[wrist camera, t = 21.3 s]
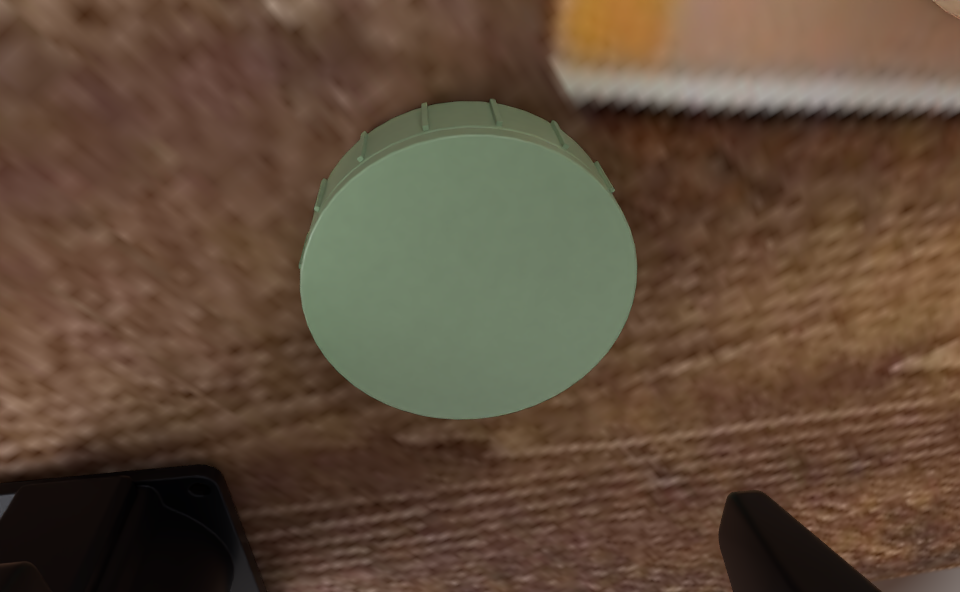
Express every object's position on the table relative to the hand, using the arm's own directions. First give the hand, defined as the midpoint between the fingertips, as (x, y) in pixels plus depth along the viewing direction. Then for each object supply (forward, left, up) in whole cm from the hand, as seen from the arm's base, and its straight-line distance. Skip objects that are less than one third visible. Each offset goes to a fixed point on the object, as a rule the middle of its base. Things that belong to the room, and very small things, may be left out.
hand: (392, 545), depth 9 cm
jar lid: (0, -2, -6) cm, 6 cm away
